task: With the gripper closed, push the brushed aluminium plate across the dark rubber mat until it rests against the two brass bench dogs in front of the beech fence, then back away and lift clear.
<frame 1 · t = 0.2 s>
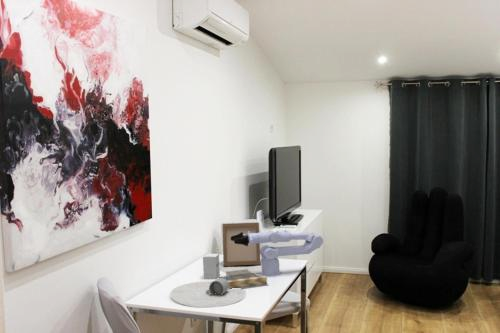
hand: (232, 239, 256), 21 cm above the table, tool horizontal, fingers open, 7 cm apart
bench fence: (246, 285, 243), resting on bench mat
photo frame: (242, 263, 290), on the table
bench mat: (242, 282, 250), on the table
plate: (238, 277, 257), resting on bench mat
supplement box: (211, 278, 261), on the table
ceramic mug: (217, 294, 232), on the table
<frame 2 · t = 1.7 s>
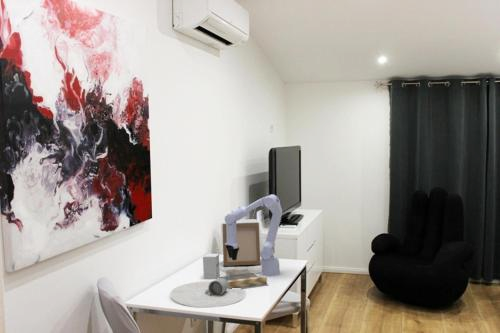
hand: (232, 258, 267), 8 cm above the table, tool pointing down, fingers open, 6 cm apart
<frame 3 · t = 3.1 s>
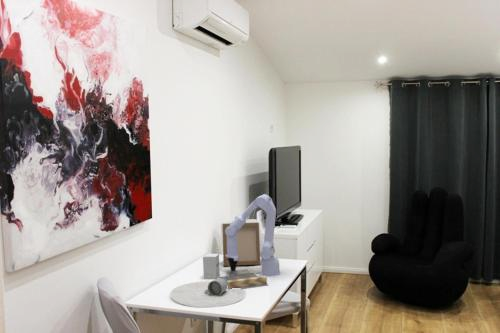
hand: (233, 270, 267), 2 cm above the table, tool pointing down, fingers closed
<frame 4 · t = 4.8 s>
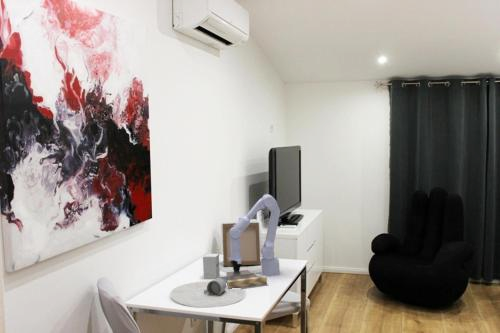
hand: (236, 274, 261), 2 cm above the table, tool pointing down, fingers closed
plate: (239, 278, 256), point 1 cm above the table, touching bench mat, gripper
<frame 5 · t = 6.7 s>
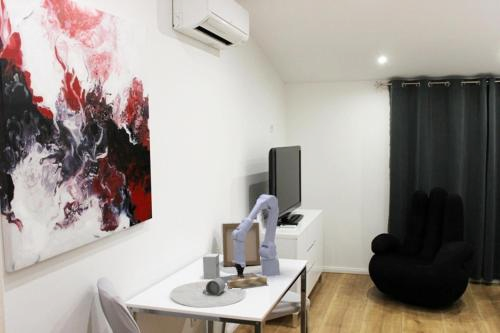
hand: (240, 277, 254), 2 cm above the table, tool pointing down, fingers closed, pressing on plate
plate: (242, 281, 249), point 1 cm above the table, touching bench fence, gripper
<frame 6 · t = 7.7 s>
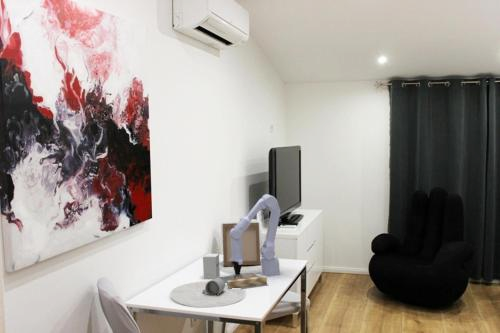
hand: (237, 274, 259), 2 cm above the table, tool pointing down, fingers closed
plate: (242, 281, 249), resting on bench mat
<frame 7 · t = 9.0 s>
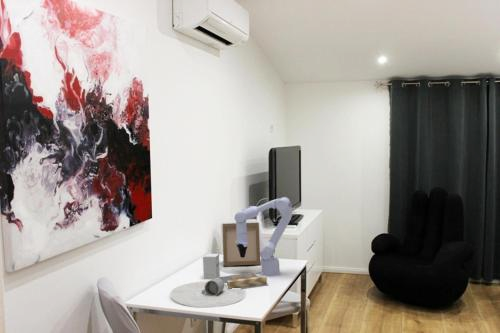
hand: (242, 257, 266), 9 cm above the table, tool pointing down, fingers closed
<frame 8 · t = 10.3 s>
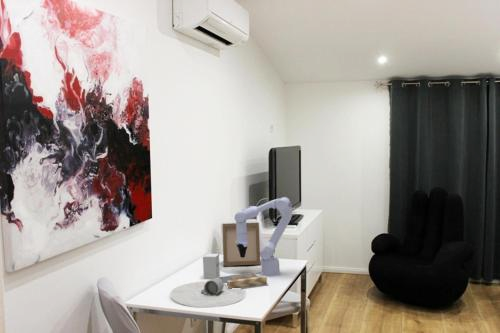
hand: (242, 257, 266), 9 cm above the table, tool pointing down, fingers closed
at the end: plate 0.0 cm from the target spot, point 0.5 cm above the table; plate tilted 0° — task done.
